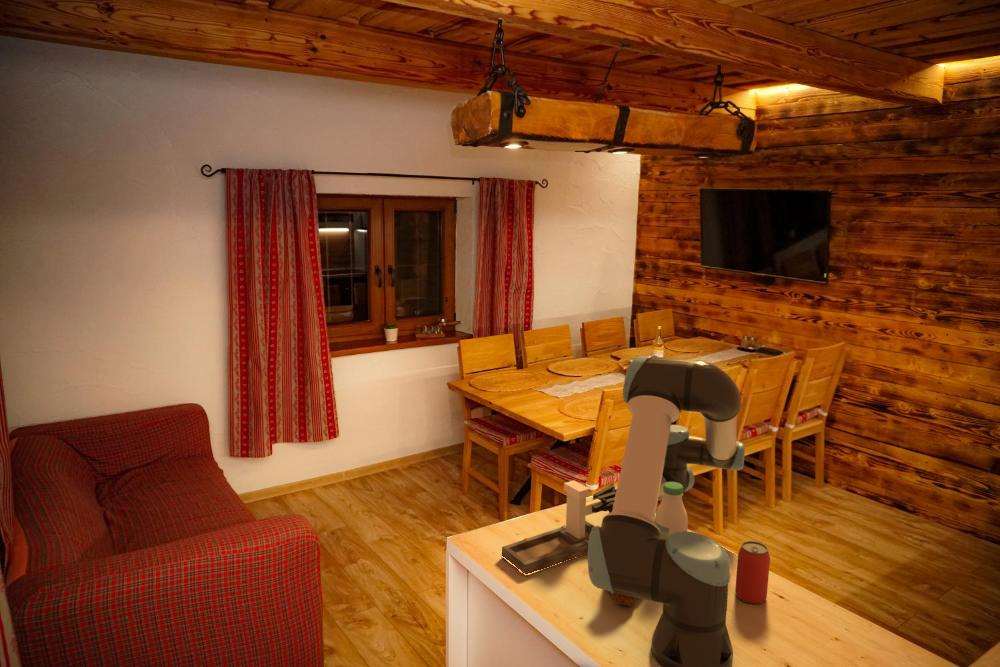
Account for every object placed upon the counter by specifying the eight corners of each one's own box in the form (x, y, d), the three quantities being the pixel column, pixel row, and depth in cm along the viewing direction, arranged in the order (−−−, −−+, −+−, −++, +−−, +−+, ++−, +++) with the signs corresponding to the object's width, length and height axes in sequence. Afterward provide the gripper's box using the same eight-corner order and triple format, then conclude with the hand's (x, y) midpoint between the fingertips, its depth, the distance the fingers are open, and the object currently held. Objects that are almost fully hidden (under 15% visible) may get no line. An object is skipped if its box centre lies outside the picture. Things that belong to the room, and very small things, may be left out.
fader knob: (574, 531, 177) (575, 479, 174) (591, 542, 172) (593, 488, 169) (559, 536, 175) (560, 483, 172) (575, 547, 169) (577, 493, 166)
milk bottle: (682, 554, 169) (687, 479, 165) (687, 571, 162) (692, 492, 158) (650, 553, 170) (654, 477, 166) (654, 569, 162) (658, 491, 158)
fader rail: (583, 529, 181) (583, 518, 181) (609, 545, 173) (609, 534, 173) (501, 558, 167) (501, 546, 167) (525, 576, 159) (525, 564, 159)
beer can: (735, 602, 150) (739, 552, 147) (734, 586, 156) (738, 537, 153) (767, 607, 148) (772, 556, 145) (765, 591, 154) (769, 542, 151)
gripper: (664, 511, 181) (596, 535, 168) (629, 493, 191) (563, 514, 179) (665, 484, 179) (597, 506, 167) (630, 468, 190) (563, 487, 177)
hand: (579, 510), depth 173 cm, fingers closed
